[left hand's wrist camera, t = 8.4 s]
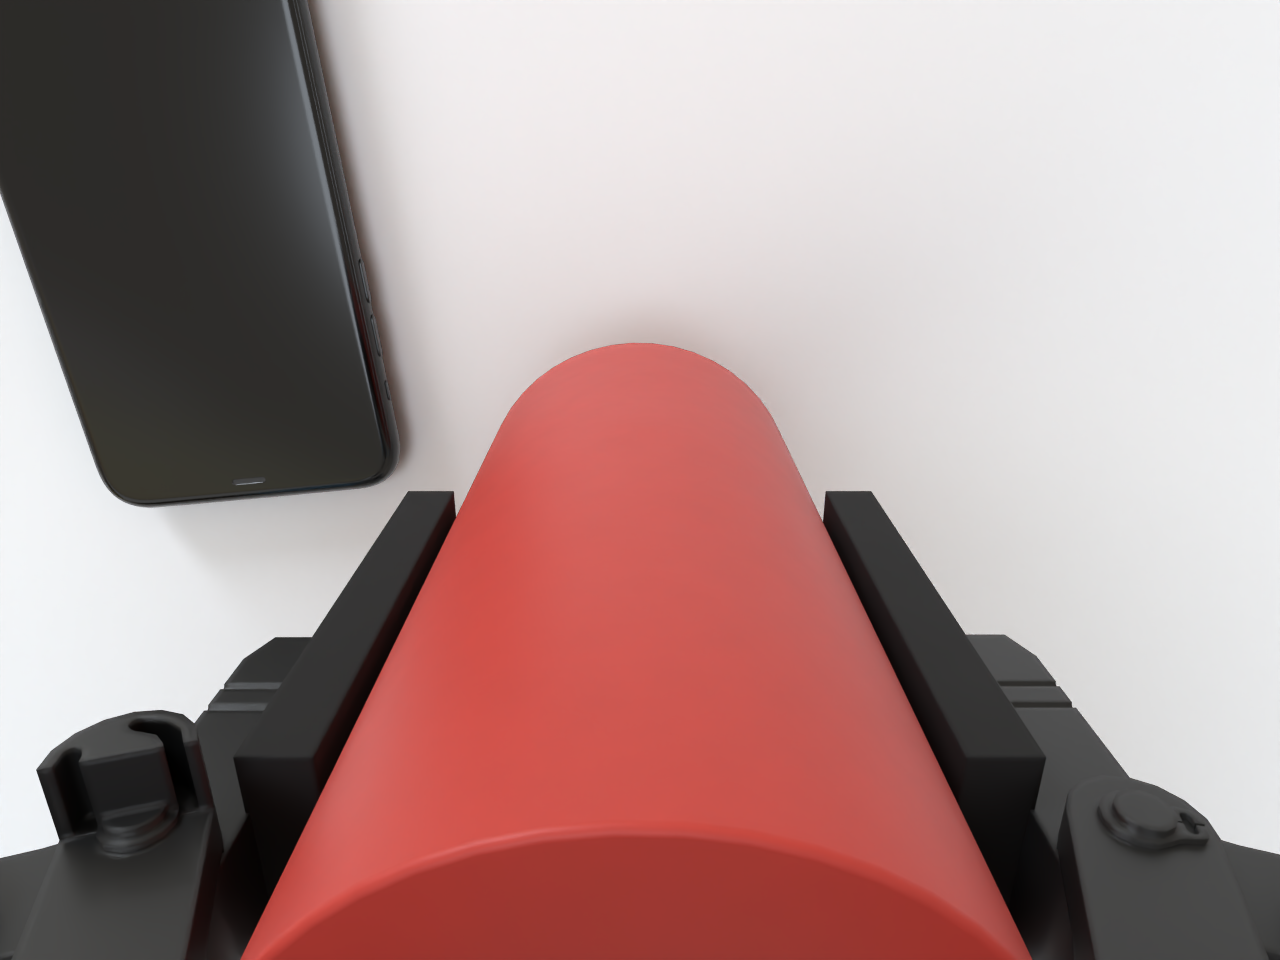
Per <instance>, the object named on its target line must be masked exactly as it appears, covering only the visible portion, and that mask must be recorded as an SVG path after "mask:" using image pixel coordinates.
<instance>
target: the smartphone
mask: <svg viewBox="0 0 1280 960" xmlns="http://www.w3.org/2000/svg"><path fill="white" fill-rule="evenodd" d="M0 194H1V197H2V200H3V203H4V206H5V208H6V211H7V214H8V217H9V220H10V223H11V226H12V228H13V231H14V234H15V237H16V240H17V243H18V245H19V248H20V251H21V254H22V257H23V260H24V263H25V265H26V268H27V271H28V274H29V277H30V280H31V283H32V285H33V288H34V291H35V294H36V297H37V300H38V302H39V305H40V308H41V311H42V314H43V317H44V320H45V322H46V325H47V328H48V331H49V334H50V337H51V340H52V342H53V345H54V348H55V351H56V354H57V357H58V360H59V362H60V365H61V368H62V371H63V374H64V377H65V379H66V382H67V385H68V388H69V391H70V394H71V397H72V399H73V402H74V405H75V408H76V411H77V414H78V417H79V419H80V422H81V425H82V428H83V431H84V434H85V436H86V439H87V442H88V445H89V448H90V451H91V454H92V456H93V459H94V462H95V465H96V468H97V470H98V472H99V475H100V477H101V479H102V481H103V482H104V484H105V486H106V487H107V488H108V489H109V491H110V492H111V493H112V494H113V495H114V496H116V497H117V498H118V499H120V500H121V501H123V502H125V503H128V504H131V505H134V506H139V507H150V508H151V507H166V506H177V505H189V504H200V503H211V502H222V501H233V500H244V499H255V498H266V497H277V496H287V495H298V494H309V493H319V492H330V491H340V490H350V489H359V488H366V487H371V486H374V485H377V484H379V483H381V482H383V481H384V480H386V479H387V478H388V477H389V476H390V475H391V474H392V473H393V472H394V470H395V469H396V467H397V465H398V462H399V457H400V441H399V434H398V429H397V424H396V419H395V415H394V410H393V405H392V400H391V395H390V390H389V385H388V381H387V377H386V372H385V367H384V362H383V358H382V354H383V352H382V347H381V342H380V338H379V333H378V328H377V323H376V319H375V316H374V315H373V310H372V305H371V295H370V290H369V285H368V280H367V276H366V271H365V266H364V262H363V260H362V258H361V253H360V248H359V243H358V239H357V234H356V229H355V224H354V220H353V215H352V210H351V205H350V201H349V196H348V191H347V186H346V182H345V177H344V172H343V167H342V163H341V158H340V153H339V148H338V143H337V139H336V134H335V129H334V124H333V120H332V115H331V110H330V105H329V101H328V96H327V91H326V86H325V82H324V77H323V72H322V67H321V63H320V58H319V53H318V48H317V44H316V39H315V34H314V29H313V25H312V20H311V15H310V10H309V5H308V1H307V0H0Z"/></svg>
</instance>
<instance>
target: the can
mask: <svg viewBox="0 0 1280 960" xmlns="http://www.w3.org/2000/svg"><path fill="white" fill-rule="evenodd" d="M240 960H1032V958H1031V956H1030V954H1029V952H1028V949H1027V947H1026V945H1025V943H1024V941H1023V939H1022V937H1021V935H1020V933H1019V931H1018V929H1017V926H1016V924H1015V922H1014V920H1013V918H1012V916H1011V914H1010V912H1009V910H1008V908H1007V906H1006V904H1005V901H1004V899H1003V897H1002V895H1001V893H1000V891H999V889H998V887H997V885H996V883H995V881H994V878H993V876H992V874H991V872H990V870H989V868H988V866H987V864H986V862H985V860H984V858H983V856H982V853H981V851H980V849H979V847H978V845H977V843H976V841H975V839H974V837H973V835H972V833H971V830H970V828H969V826H968V824H967V822H966V820H965V818H964V816H963V814H962V812H961V810H960V808H959V805H958V803H957V801H956V799H955V797H954V795H953V793H952V791H951V789H950V787H949V785H948V782H947V780H946V778H945V776H944V774H943V772H942V770H941V768H940V766H939V764H938V762H937V760H936V757H935V755H934V753H933V751H932V749H931V747H930V745H929V743H928V741H927V739H926V737H925V734H924V732H923V730H922V728H921V726H920V724H919V722H918V720H917V718H916V716H915V714H914V712H913V709H912V707H911V705H910V703H909V701H908V699H907V697H906V695H905V693H904V691H903V689H902V686H901V684H900V682H899V680H898V678H897V676H896V674H895V672H894V670H893V668H892V666H891V664H890V661H889V659H888V657H887V655H886V653H885V651H884V649H883V647H882V645H881V643H880V641H879V638H878V636H877V634H876V632H875V630H874V628H873V626H872V624H871V622H870V620H869V618H868V615H867V613H866V611H865V609H864V607H863V605H862V603H861V601H860V599H859V597H858V595H857V593H856V590H855V588H854V586H853V584H852V582H851V580H850V578H849V576H848V574H847V572H846V570H845V567H844V565H843V563H842V561H841V559H840V557H839V555H838V553H837V551H836V549H835V547H834V545H833V542H832V540H831V538H830V536H829V534H828V532H827V530H826V528H825V526H824V524H823V522H822V519H821V517H820V515H819V513H818V511H817V509H816V507H815V505H814V503H813V501H812V499H811V497H810V494H809V492H808V490H807V488H806V486H805V484H804V482H803V480H802V478H801V476H800V474H799V471H798V469H797V467H796V465H795V463H794V461H793V459H792V457H791V455H790V453H789V451H788V449H787V446H786V444H785V442H784V440H783V438H782V436H781V434H780V432H779V430H778V428H777V426H776V424H775V422H774V420H773V418H772V416H771V414H770V413H769V411H768V410H767V409H766V407H765V406H764V404H763V403H762V402H761V400H760V399H759V398H758V397H757V395H756V394H755V393H754V392H753V391H752V390H751V389H750V388H749V387H748V386H747V385H746V384H745V383H744V382H743V381H741V380H740V379H739V378H738V377H737V376H735V375H734V374H733V373H732V372H730V371H729V370H727V369H725V368H724V367H722V366H721V365H719V364H717V363H716V362H714V361H712V360H710V359H708V358H705V357H703V356H701V355H698V354H696V353H694V352H690V351H687V350H683V349H680V348H677V347H673V346H666V345H660V344H653V343H627V344H618V345H610V346H606V347H602V348H598V349H593V350H590V351H587V352H585V353H582V354H579V355H577V356H574V357H572V358H570V359H568V360H566V361H564V362H562V363H560V364H559V365H557V366H555V367H553V368H552V369H550V370H549V371H548V372H546V373H545V374H544V375H542V376H541V377H540V378H538V379H537V380H536V381H535V382H534V383H533V384H532V385H531V386H530V387H529V388H528V389H527V390H526V391H525V392H523V393H522V395H521V396H520V397H519V399H518V400H517V401H516V402H515V404H514V405H513V406H512V408H511V409H510V411H509V412H508V414H507V416H506V418H505V419H504V421H503V423H502V425H501V427H500V429H499V431H498V433H497V435H496V437H495V439H494V441H493V443H492V445H491V447H490V449H489V451H488V453H487V455H486V457H485V459H484V461H483V463H482V465H481V467H480V470H479V472H478V474H477V476H476V478H475V480H474V482H473V484H472V486H471V488H470V490H469V492H468V494H467V496H466V498H465V500H464V502H463V504H462V506H461V508H460V511H459V513H458V515H457V517H456V519H455V521H454V523H453V525H452V527H451V529H450V531H449V533H448V535H447V537H446V539H445V541H444V543H443V545H442V547H441V549H440V551H439V554H438V556H437V558H436V560H435V562H434V564H433V566H432V568H431V570H430V572H429V574H428V576H427V578H426V580H425V582H424V584H423V586H422V588H421V590H420V592H419V595H418V597H417V599H416V601H415V603H414V605H413V607H412V609H411V611H410V613H409V615H408V617H407V619H406V621H405V623H404V625H403V627H402V629H401V631H400V633H399V635H398V638H397V640H396V642H395V644H394V646H393V648H392V650H391V652H390V654H389V656H388V658H387V660H386V662H385V664H384V666H383V668H382V670H381V672H380V674H379V676H378V678H377V681H376V683H375V685H374V687H373V689H372V691H371V693H370V695H369V697H368V699H367V701H366V703H365V705H364V707H363V709H362V711H361V713H360V715H359V717H358V719H357V722H356V724H355V726H354V728H353V730H352V732H351V734H350V736H349V738H348V740H347V742H346V744H345V746H344V748H343V750H342V752H341V754H340V756H339V758H338V760H337V762H336V765H335V767H334V769H333V771H332V773H331V775H330V777H329V779H328V781H327V783H326V785H325V787H324V789H323V791H322V793H321V795H320V797H319V799H318V801H317V803H316V806H315V808H314V810H313V812H312V814H311V816H310V818H309V820H308V822H307V824H306V826H305V828H304V830H303V832H302V834H301V836H300V838H299V840H298V842H297V844H296V846H295V849H294V851H293V853H292V855H291V857H290V859H289V861H288V863H287V865H286V867H285V869H284V871H283V873H282V875H281V877H280V879H279V881H278V883H277V885H276V887H275V890H274V892H273V894H272V896H271V898H270V900H269V902H268V904H267V906H266V908H265V910H264V912H263V914H262V916H261V918H260V920H259V922H258V924H257V926H256V928H255V930H254V933H253V935H252V937H251V939H250V941H249V943H248V945H247V947H246V949H245V951H244V953H243V955H242V957H241V959H240Z"/></svg>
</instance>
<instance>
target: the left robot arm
mask: <svg viewBox="0 0 1280 960" xmlns="http://www.w3.org/2000/svg"><path fill="white" fill-rule="evenodd" d="M455 519H456V512H455V501H454V491H408V493H407V494H406V496H405V497H404V499H403V500H402V502H401V503H400V505H399V506H398V508H397V509H396V511H395V512H394V514H393V515H392V517H391V518H390V520H389V521H388V523H387V524H386V526H385V527H384V529H383V530H382V532H381V533H380V535H379V537H378V538H377V540H376V541H375V543H374V544H373V546H372V547H371V549H370V550H369V552H368V553H367V555H366V556H365V558H364V559H363V561H362V562H361V564H360V565H359V567H358V568H357V570H356V571H355V573H354V574H353V576H352V577H351V579H350V581H349V582H348V584H347V585H346V587H345V588H344V590H343V591H342V593H341V594H340V596H339V597H338V599H337V600H336V602H335V603H334V605H333V606H332V608H331V609H330V611H329V612H328V614H327V615H326V617H325V618H324V620H323V621H322V623H321V625H320V626H319V628H318V629H317V631H316V632H315V634H314V635H313V637H275V638H274V639H272V640H271V641H269V642H268V643H266V644H265V645H263V646H262V647H261V648H259V649H258V650H256V651H255V652H253V653H252V654H250V655H249V656H247V657H246V658H244V659H243V660H242V662H241V663H240V664H239V666H238V667H237V668H236V670H235V671H234V672H233V674H232V675H231V676H230V678H229V679H228V680H227V681H226V683H225V684H224V689H220V691H219V692H218V693H217V695H216V696H215V697H214V698H213V700H212V701H211V702H210V704H209V705H208V711H204V712H203V713H202V714H201V715H200V717H199V718H198V719H197V721H196V722H195V723H193V722H192V721H191V720H189V719H188V718H187V717H186V716H184V715H183V714H179V713H174V712H169V711H164V710H155V711H141V712H132V713H129V714H125V715H121V716H117V717H114V718H110V719H106V720H103V721H101V722H99V723H97V724H95V725H92V726H90V727H88V728H86V729H84V730H82V731H79V732H77V733H75V734H74V735H72V736H71V737H70V738H68V739H67V740H65V741H64V742H63V743H61V744H60V745H59V746H57V747H56V748H54V749H53V750H52V751H51V752H50V753H49V754H48V755H47V757H46V758H45V759H44V761H43V762H42V763H41V764H40V766H39V767H38V768H37V769H36V771H37V774H38V777H39V780H40V783H41V786H42V789H43V792H44V795H45V798H46V801H47V804H48V807H49V810H50V813H51V816H52V819H53V822H54V825H55V828H56V831H57V834H58V837H59V840H60V841H59V843H58V844H56V845H53V846H49V847H46V848H43V849H39V850H34V851H30V852H25V853H21V854H17V855H12V856H8V857H4V858H0V960H240V959H241V957H242V955H243V953H244V951H245V949H246V947H247V945H248V943H249V941H250V939H251V937H252V935H253V933H254V930H255V928H256V926H257V924H258V922H259V920H260V918H261V916H262V914H263V912H264V910H265V908H266V906H267V904H268V902H269V900H270V898H271V896H272V894H273V892H274V890H275V887H276V885H277V883H278V881H279V879H280V877H281V875H282V873H283V871H284V869H285V867H286V865H287V863H288V861H289V859H290V857H291V855H292V853H293V851H294V849H295V846H296V844H297V842H298V840H299V838H300V836H301V834H302V832H303V830H304V828H305V826H306V824H307V822H308V820H309V818H310V816H311V814H312V812H313V810H314V808H315V806H316V803H317V801H318V799H319V797H320V795H321V793H322V791H323V789H324V787H325V785H326V783H327V781H328V779H329V777H330V775H331V773H332V771H333V769H334V767H335V765H336V762H337V760H338V758H339V756H340V754H341V752H342V750H343V748H344V746H345V744H346V742H347V740H348V738H349V736H350V734H351V732H352V730H353V728H354V726H355V724H356V722H357V719H358V717H359V715H360V713H361V711H362V709H363V707H364V705H365V703H366V701H367V699H368V697H369V695H370V693H371V691H372V689H373V687H374V685H375V683H376V681H377V678H378V676H379V674H380V672H381V670H382V668H383V666H384V664H385V662H386V660H387V658H388V656H389V654H390V652H391V650H392V648H393V646H394V644H395V642H396V640H397V638H398V635H399V633H400V631H401V629H402V627H403V625H404V623H405V621H406V619H407V617H408V615H409V613H410V611H411V609H412V607H413V605H414V603H415V601H416V599H417V597H418V595H419V592H420V590H421V588H422V586H423V584H424V582H425V580H426V578H427V576H428V574H429V572H430V570H431V568H432V566H433V564H434V562H435V560H436V558H437V556H438V554H439V551H440V549H441V547H442V545H443V543H444V541H445V539H446V537H447V535H448V533H449V531H450V529H451V527H452V525H453V523H454V521H455ZM823 524H824V526H825V528H826V530H827V532H828V534H829V536H830V538H831V540H832V542H833V545H834V547H835V549H836V551H837V553H838V555H839V557H840V559H841V561H842V563H843V565H844V567H845V570H846V572H847V574H848V576H849V578H850V580H851V582H852V584H853V586H854V588H855V590H856V593H857V595H858V597H859V599H860V601H861V603H862V605H863V607H864V609H865V611H866V613H867V615H868V618H869V620H870V622H871V624H872V626H873V628H874V630H875V632H876V634H877V636H878V638H879V641H880V643H881V645H882V647H883V649H884V651H885V653H886V655H887V657H888V659H889V661H890V664H891V666H892V668H893V670H894V672H895V674H896V676H897V678H898V680H899V682H900V684H901V686H902V689H903V691H904V693H905V695H906V697H907V699H908V701H909V703H910V705H911V707H912V709H913V712H914V714H915V716H916V718H917V720H918V722H919V724H920V726H921V728H922V730H923V732H924V734H925V737H926V739H927V741H928V743H929V745H930V747H931V749H932V751H933V753H934V755H935V757H936V760H937V762H938V764H939V766H940V768H941V770H942V772H943V774H944V776H945V778H946V780H947V782H948V785H949V787H950V789H951V791H952V793H953V795H954V797H955V799H956V801H957V803H958V805H959V808H960V810H961V812H962V814H963V816H964V818H965V820H966V822H967V824H968V826H969V828H970V830H971V833H972V835H973V837H974V839H975V841H976V843H977V845H978V847H979V849H980V851H981V853H982V856H983V858H984V860H985V862H986V864H987V866H988V868H989V870H990V872H991V874H992V876H993V878H994V881H995V883H996V885H997V887H998V889H999V891H1000V893H1001V895H1002V897H1003V899H1004V901H1005V904H1006V906H1007V908H1008V910H1009V912H1010V914H1011V916H1012V918H1013V920H1014V922H1015V924H1016V926H1017V929H1018V931H1019V933H1020V935H1021V937H1022V939H1023V941H1024V943H1025V945H1026V947H1027V949H1028V952H1029V954H1030V956H1031V958H1032V960H1280V855H1279V854H1275V853H1270V852H1266V851H1261V850H1257V849H1253V848H1248V847H1244V846H1239V845H1236V844H1233V843H1229V842H1226V841H1222V840H1221V839H1220V838H1219V836H1218V835H1217V833H1216V832H1215V830H1214V829H1213V827H1212V826H1211V824H1210V823H1209V821H1208V820H1207V819H1206V818H1205V817H1204V816H1203V815H1201V814H1200V813H1199V812H1198V811H1197V810H1195V809H1194V808H1193V807H1192V806H1191V805H1189V804H1188V803H1187V802H1186V801H1184V800H1183V799H1181V798H1179V797H1177V796H1175V795H1173V794H1171V793H1169V792H1167V791H1165V790H1164V789H1162V788H1160V787H1158V786H1155V785H1152V784H1149V783H1145V782H1142V781H1139V780H1135V779H1132V778H1130V777H1129V776H1128V775H1127V774H1126V772H1125V771H1124V770H1123V768H1122V767H1121V766H1120V764H1119V763H1118V762H1117V761H1116V759H1115V758H1114V757H1113V755H1112V754H1111V753H1110V751H1109V750H1108V749H1107V748H1106V746H1105V745H1104V744H1103V742H1102V741H1101V740H1100V738H1099V737H1098V736H1097V735H1096V733H1095V732H1094V731H1093V729H1092V728H1091V727H1090V725H1089V724H1088V723H1087V722H1086V720H1085V719H1084V718H1083V716H1082V715H1081V714H1080V712H1079V711H1078V710H1077V709H1076V708H1072V702H1071V701H1070V699H1069V698H1068V697H1067V695H1066V694H1065V693H1064V692H1063V690H1062V689H1061V688H1060V686H1056V681H1055V680H1054V679H1053V677H1052V676H1051V675H1050V673H1049V672H1048V671H1047V669H1046V668H1045V667H1044V666H1043V664H1042V663H1041V662H1040V660H1039V659H1038V658H1037V656H1035V655H1034V654H1032V653H1031V652H1029V651H1028V650H1026V649H1025V648H1023V647H1022V646H1020V645H1019V644H1017V643H1016V642H1015V641H1013V640H1012V639H1010V638H1009V637H1007V636H1006V635H966V634H965V633H964V631H963V630H962V628H961V627H960V625H959V624H958V622H957V621H956V619H955V618H954V616H953V615H952V613H951V612H950V610H949V609H948V607H947V606H946V604H945V603H944V601H943V600H942V598H941V597H940V595H939V594H938V592H937V590H936V589H935V587H934V586H933V584H932V583H931V581H930V580H929V578H928V577H927V575H926V574H925V572H924V571H923V569H922V568H921V566H920V565H919V563H918V562H917V560H916V559H915V557H914V556H913V554H912V553H911V551H910V549H909V548H908V546H907V545H906V543H905V542H904V540H903V539H902V537H901V536H900V534H899V533H898V531H897V530H896V528H895V527H894V525H893V524H892V522H891V521H890V519H889V518H888V516H887V515H886V513H885V512H884V510H883V509H882V507H881V505H880V504H879V502H878V501H877V499H876V498H875V496H874V495H873V493H872V492H871V491H826V495H825V506H824V517H823Z"/></svg>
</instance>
